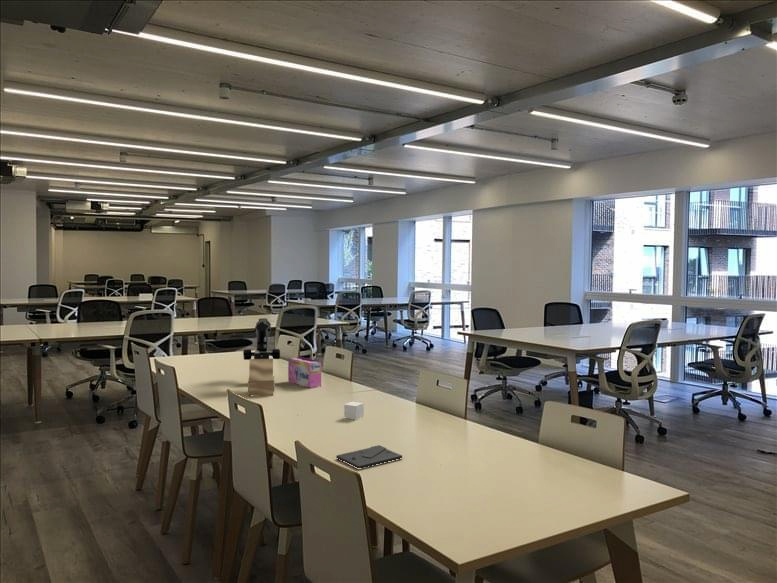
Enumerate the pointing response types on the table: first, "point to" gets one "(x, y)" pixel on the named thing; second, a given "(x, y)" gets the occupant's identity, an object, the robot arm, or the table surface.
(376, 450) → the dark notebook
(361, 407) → the white cube
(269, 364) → the flap
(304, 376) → the gum box
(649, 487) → the table surface
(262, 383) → the carton
